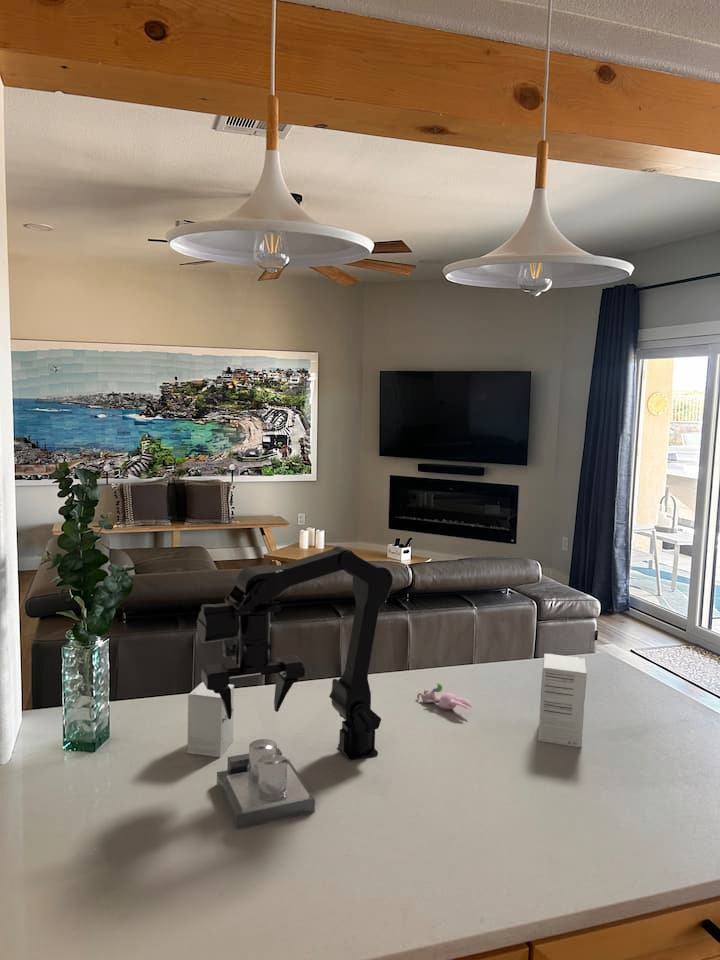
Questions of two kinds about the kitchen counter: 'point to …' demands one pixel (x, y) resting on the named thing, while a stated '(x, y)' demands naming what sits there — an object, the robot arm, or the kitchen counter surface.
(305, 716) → the kitchen counter surface
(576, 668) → the supplement box
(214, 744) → the supplement box
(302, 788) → the dial scale
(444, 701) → the rabbit figure
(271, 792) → the cylinder
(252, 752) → the cylinder
